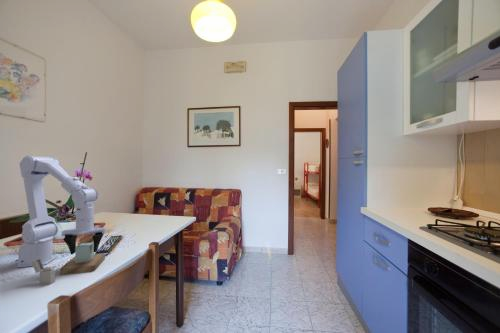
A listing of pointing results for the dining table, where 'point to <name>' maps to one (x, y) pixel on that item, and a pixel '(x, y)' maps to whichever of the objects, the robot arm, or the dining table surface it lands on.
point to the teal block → (84, 252)
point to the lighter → (44, 272)
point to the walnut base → (82, 265)
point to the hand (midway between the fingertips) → (84, 252)
